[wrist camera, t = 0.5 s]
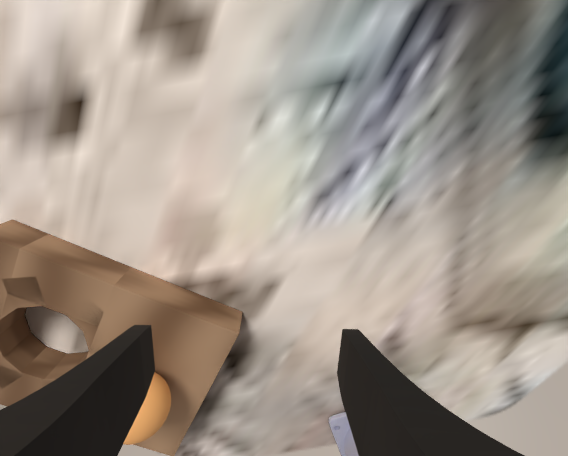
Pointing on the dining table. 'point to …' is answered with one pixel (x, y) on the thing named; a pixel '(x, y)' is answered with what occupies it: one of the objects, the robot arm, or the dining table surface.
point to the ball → (151, 412)
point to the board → (106, 322)
